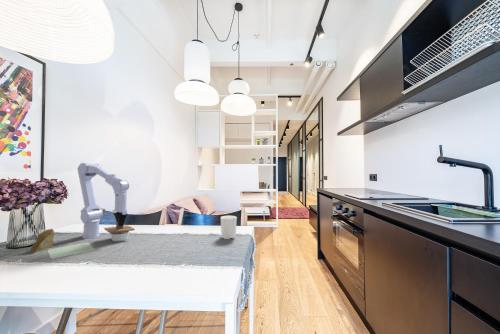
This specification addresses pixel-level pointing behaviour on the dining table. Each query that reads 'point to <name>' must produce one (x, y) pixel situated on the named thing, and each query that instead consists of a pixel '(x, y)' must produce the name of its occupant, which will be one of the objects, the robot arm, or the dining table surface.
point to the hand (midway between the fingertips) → (120, 225)
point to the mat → (70, 250)
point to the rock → (43, 241)
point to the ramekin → (120, 236)
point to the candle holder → (228, 226)
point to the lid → (119, 228)
